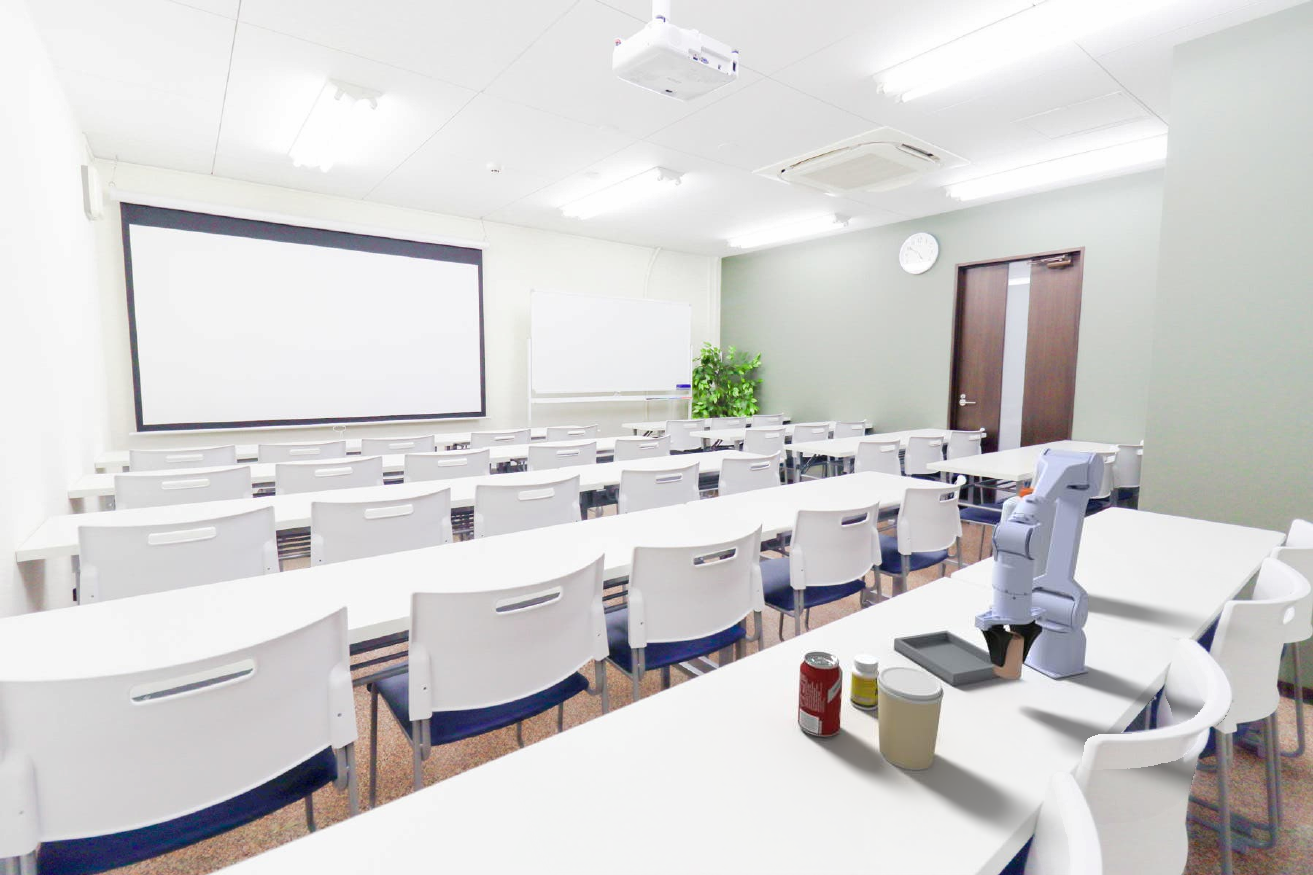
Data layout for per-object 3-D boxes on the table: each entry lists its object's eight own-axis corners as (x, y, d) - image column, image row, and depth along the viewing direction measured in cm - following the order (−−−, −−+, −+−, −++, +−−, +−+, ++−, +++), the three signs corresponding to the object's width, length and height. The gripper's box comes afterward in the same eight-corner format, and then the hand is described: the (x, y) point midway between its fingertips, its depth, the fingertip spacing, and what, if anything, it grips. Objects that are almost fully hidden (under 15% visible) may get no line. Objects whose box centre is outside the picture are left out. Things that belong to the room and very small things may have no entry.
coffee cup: (915, 733, 98) (919, 663, 97) (952, 770, 89) (957, 693, 88) (862, 738, 97) (866, 667, 95) (894, 777, 87) (899, 699, 86)
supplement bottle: (879, 712, 104) (882, 666, 103) (851, 709, 105) (853, 663, 104) (875, 698, 109) (877, 654, 108) (848, 695, 110) (850, 651, 109)
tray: (945, 640, 133) (946, 630, 133) (1008, 675, 118) (1009, 663, 118) (893, 649, 128) (894, 638, 128) (952, 686, 113) (953, 674, 113)
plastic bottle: (1063, 590, 166) (1071, 490, 163) (1051, 604, 155) (1060, 498, 152) (1001, 576, 176) (1008, 482, 173) (986, 589, 165) (994, 489, 162)
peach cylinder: (1005, 665, 111) (1008, 628, 110) (1027, 676, 106) (1030, 638, 106) (987, 668, 109) (989, 631, 108) (1008, 680, 105) (1011, 642, 104)
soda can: (817, 744, 95) (820, 672, 94) (789, 722, 101) (791, 654, 100) (848, 733, 98) (852, 663, 97) (819, 712, 104) (822, 646, 103)
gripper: (1023, 577, 112) (1018, 647, 114) (963, 585, 108) (958, 658, 109) (1059, 590, 106) (1053, 664, 107) (996, 599, 101) (990, 676, 102)
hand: (1007, 662), depth 108 cm, fingers closed on peach cylinder, 4 cm apart
